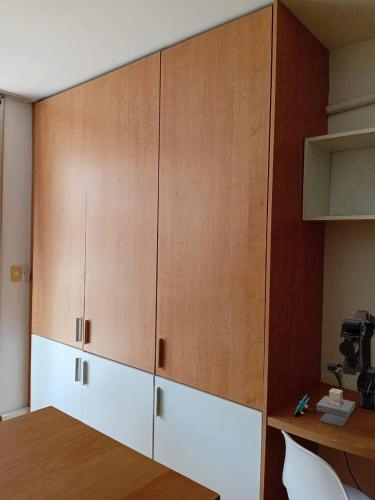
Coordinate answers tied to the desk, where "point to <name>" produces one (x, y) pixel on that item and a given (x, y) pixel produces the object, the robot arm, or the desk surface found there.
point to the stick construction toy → (303, 406)
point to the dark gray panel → (333, 420)
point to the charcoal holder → (336, 407)
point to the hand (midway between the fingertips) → (353, 391)
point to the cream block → (336, 397)
